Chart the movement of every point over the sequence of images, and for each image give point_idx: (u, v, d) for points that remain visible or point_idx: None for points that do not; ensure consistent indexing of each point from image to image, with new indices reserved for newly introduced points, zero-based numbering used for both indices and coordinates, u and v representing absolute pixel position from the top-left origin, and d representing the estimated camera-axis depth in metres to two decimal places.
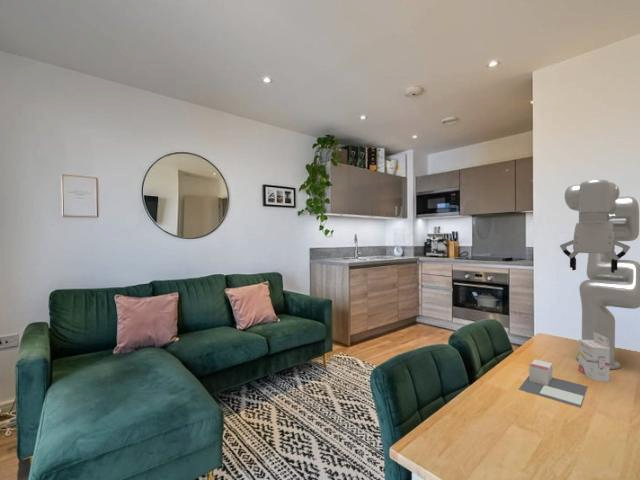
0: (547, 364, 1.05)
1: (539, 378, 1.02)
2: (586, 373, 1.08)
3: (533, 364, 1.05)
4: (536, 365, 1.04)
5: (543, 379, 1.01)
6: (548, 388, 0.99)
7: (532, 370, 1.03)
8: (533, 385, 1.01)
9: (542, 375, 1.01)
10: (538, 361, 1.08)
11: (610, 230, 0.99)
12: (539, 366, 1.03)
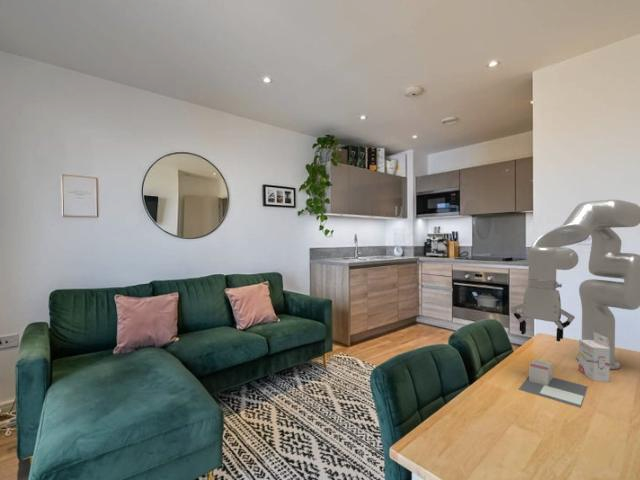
0: (547, 364, 1.05)
1: (539, 378, 1.02)
2: (586, 373, 1.08)
3: (533, 364, 1.05)
4: (536, 365, 1.04)
5: (543, 379, 1.01)
6: (548, 388, 0.99)
7: (532, 370, 1.03)
8: (533, 385, 1.01)
9: (542, 375, 1.01)
10: (538, 361, 1.08)
11: (556, 299, 1.00)
12: (539, 366, 1.03)
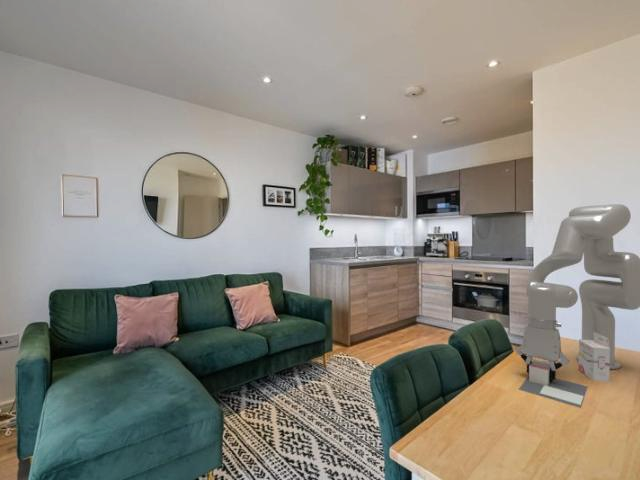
0: (547, 364, 1.05)
1: (539, 378, 1.02)
2: (586, 373, 1.08)
3: (533, 364, 1.05)
4: (536, 365, 1.04)
5: (543, 379, 1.01)
6: (548, 388, 0.99)
7: (532, 370, 1.03)
8: (533, 385, 1.01)
9: (542, 375, 1.01)
10: (538, 361, 1.08)
11: (555, 339, 1.01)
12: (539, 366, 1.03)
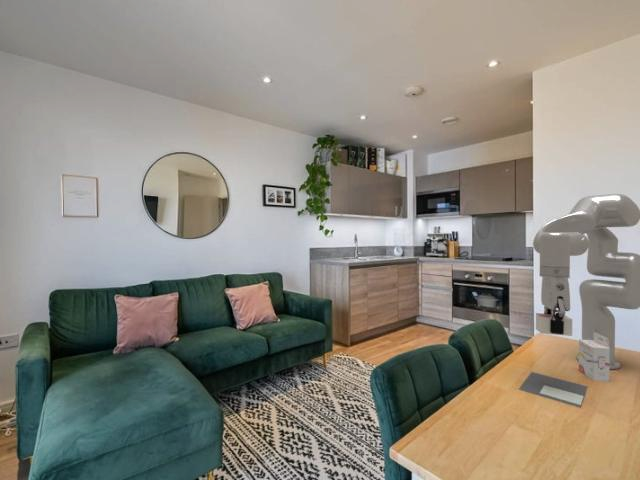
0: None
1: (538, 325, 1.00)
2: (586, 373, 1.08)
3: (544, 314, 1.01)
4: (544, 314, 1.00)
5: (539, 326, 0.99)
6: (548, 388, 0.99)
7: (536, 318, 1.01)
8: (533, 385, 1.01)
9: (539, 322, 0.99)
10: None
11: (551, 286, 0.95)
12: (544, 315, 0.99)
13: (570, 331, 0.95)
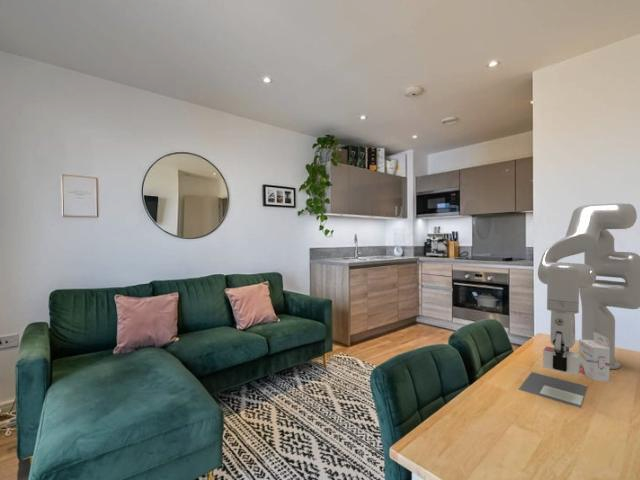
0: (567, 354, 0.92)
1: None
2: (586, 373, 1.08)
3: None
4: (552, 349, 0.97)
5: None
6: (548, 388, 0.99)
7: None
8: (533, 385, 1.01)
9: None
10: (572, 353, 0.93)
11: (551, 320, 0.93)
12: (551, 349, 0.96)
13: (575, 370, 0.90)
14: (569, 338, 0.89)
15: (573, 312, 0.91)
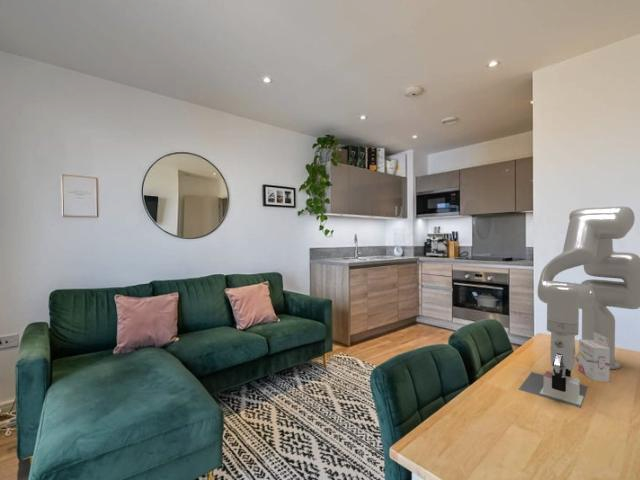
0: (567, 381, 0.93)
1: None
2: (586, 373, 1.08)
3: None
4: None
5: (544, 385, 0.97)
6: None
7: None
8: (533, 385, 1.01)
9: None
10: (572, 379, 0.94)
11: (551, 341, 0.93)
12: (551, 374, 0.96)
13: (575, 397, 0.90)
14: (569, 360, 0.90)
15: (573, 334, 0.91)
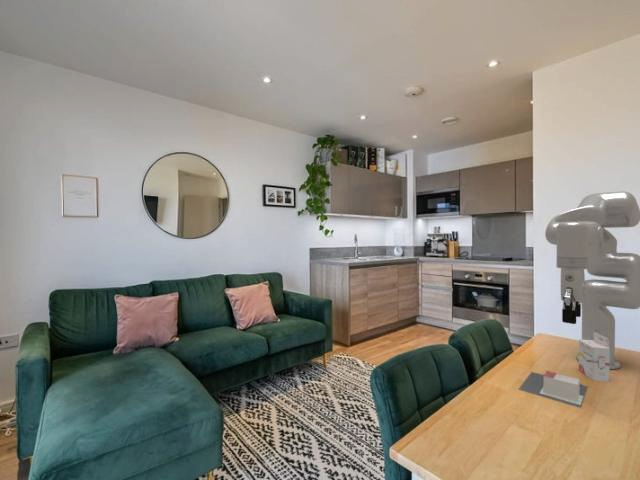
0: (567, 381, 0.93)
1: None
2: (586, 373, 1.08)
3: (554, 373, 0.97)
4: (553, 374, 0.97)
5: (544, 385, 0.97)
6: None
7: None
8: (533, 385, 1.01)
9: None
10: (572, 379, 0.94)
11: (561, 277, 0.94)
12: (551, 374, 0.96)
13: (575, 397, 0.90)
14: (579, 293, 0.91)
15: (583, 268, 0.92)
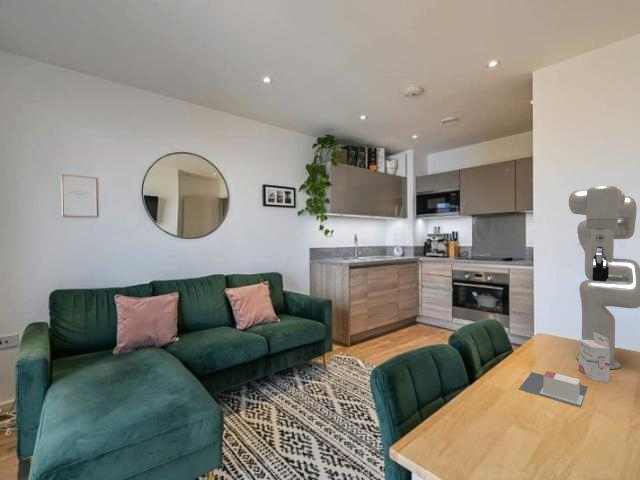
0: (567, 381, 0.93)
1: None
2: (586, 373, 1.08)
3: (554, 373, 0.97)
4: (553, 374, 0.97)
5: (544, 385, 0.97)
6: None
7: None
8: (533, 385, 1.01)
9: None
10: (572, 379, 0.94)
11: (591, 237, 0.99)
12: (551, 374, 0.96)
13: (575, 397, 0.90)
14: (610, 252, 0.96)
15: (613, 228, 0.97)
